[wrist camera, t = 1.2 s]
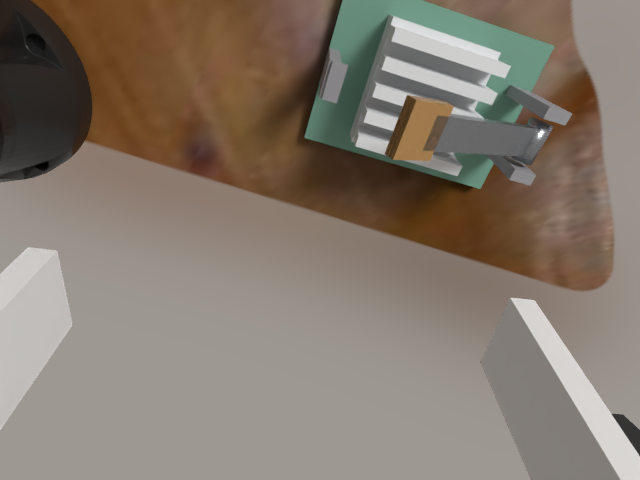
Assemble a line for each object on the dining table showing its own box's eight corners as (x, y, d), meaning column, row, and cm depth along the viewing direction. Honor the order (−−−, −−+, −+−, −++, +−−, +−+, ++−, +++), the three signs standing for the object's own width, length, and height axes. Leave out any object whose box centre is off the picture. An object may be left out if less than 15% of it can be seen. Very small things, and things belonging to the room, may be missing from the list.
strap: (379, 150, 24) (398, 163, 23) (401, 91, 22) (423, 103, 21) (516, 157, 32) (534, 167, 31) (539, 115, 30) (559, 124, 29)
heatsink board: (304, 134, 37) (299, 168, 30) (349, -25, 31) (354, -28, 24) (476, 184, 39) (508, 227, 32) (548, 44, 33) (606, 60, 26)
